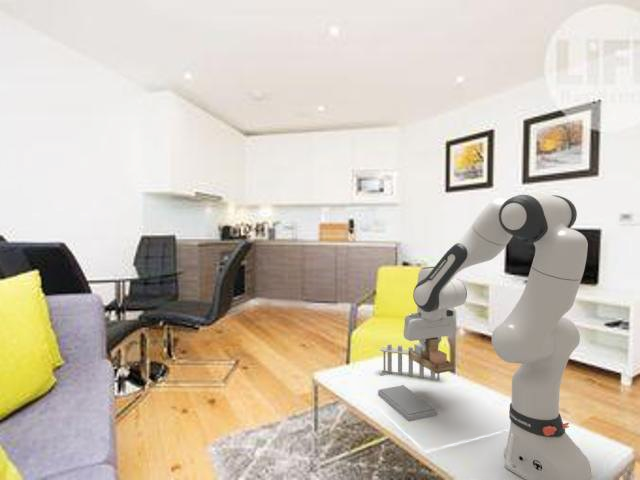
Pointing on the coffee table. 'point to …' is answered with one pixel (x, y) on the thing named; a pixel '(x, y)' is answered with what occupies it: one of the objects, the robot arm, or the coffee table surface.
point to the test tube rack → (400, 352)
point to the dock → (407, 403)
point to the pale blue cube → (418, 349)
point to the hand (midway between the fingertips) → (430, 349)
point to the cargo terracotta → (438, 357)
